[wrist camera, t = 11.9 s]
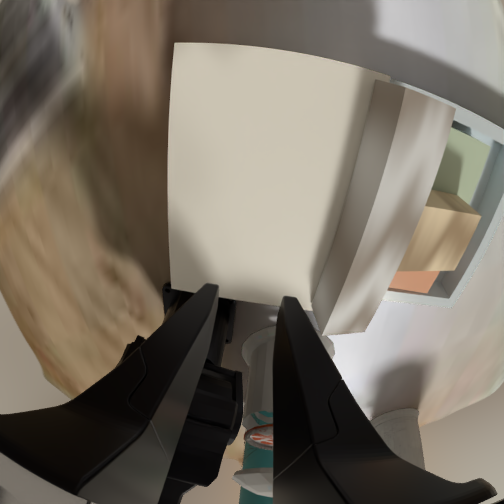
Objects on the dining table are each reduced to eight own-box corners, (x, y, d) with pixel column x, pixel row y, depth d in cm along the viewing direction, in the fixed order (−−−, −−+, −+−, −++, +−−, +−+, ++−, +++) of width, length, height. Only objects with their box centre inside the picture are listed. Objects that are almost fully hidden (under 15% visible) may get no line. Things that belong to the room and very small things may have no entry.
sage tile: (413, 190, 16) (400, 175, 18) (467, 208, 16) (451, 192, 18) (436, 120, 13) (419, 112, 15) (490, 146, 13) (471, 135, 15)
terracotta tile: (377, 285, 20) (370, 264, 22) (427, 293, 20) (417, 272, 22) (403, 232, 17) (392, 213, 19) (454, 245, 17) (440, 226, 19)
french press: (286, 309, 26) (263, 615, 6) (363, 358, 30) (376, 585, 9) (222, 354, 31) (179, 583, 11) (299, 391, 35) (288, 582, 14)
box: (442, 288, 23) (451, 308, 21) (327, 271, 23) (330, 293, 21) (509, 134, 15) (529, 145, 13) (381, 77, 15) (395, 79, 13)
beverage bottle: (240, 401, 38) (220, 538, 21) (285, 394, 35) (274, 544, 19) (261, 419, 41) (248, 540, 24) (303, 412, 38) (297, 542, 22)
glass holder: (421, 418, 40) (431, 494, 28) (347, 440, 45) (348, 512, 33) (415, 402, 36) (429, 491, 24) (330, 427, 42) (331, 511, 29)
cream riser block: (315, 269, 23) (319, 311, 20) (188, 250, 23) (171, 288, 20) (366, 72, 15) (390, 76, 11) (199, 46, 15) (174, 42, 11)
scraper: (311, 305, 19) (406, 300, 21) (321, 335, 17) (420, 324, 19) (375, 79, 11) (481, 122, 12) (405, 87, 9) (510, 137, 10)
